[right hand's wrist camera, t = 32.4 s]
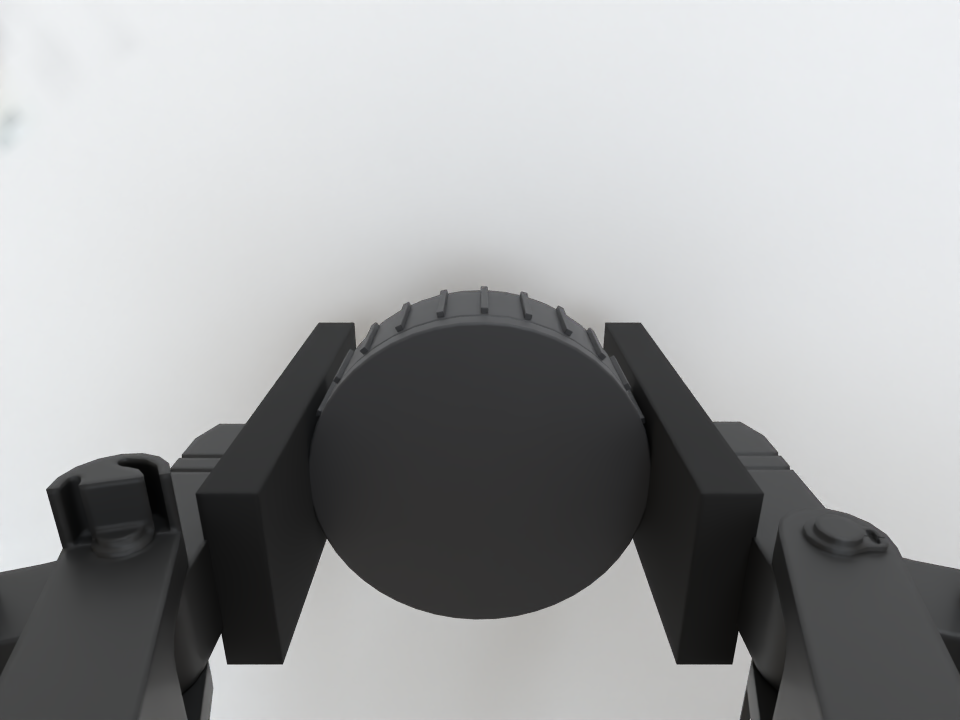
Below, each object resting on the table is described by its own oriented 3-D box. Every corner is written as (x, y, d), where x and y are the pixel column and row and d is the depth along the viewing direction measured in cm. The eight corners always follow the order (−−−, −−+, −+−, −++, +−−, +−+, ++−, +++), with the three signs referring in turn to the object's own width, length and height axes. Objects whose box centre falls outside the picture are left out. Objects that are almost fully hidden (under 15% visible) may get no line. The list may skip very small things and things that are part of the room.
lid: (336, 555, 13) (315, 621, 11) (317, 280, 11) (288, 311, 9) (616, 561, 13) (635, 627, 11) (649, 289, 11) (679, 321, 9)
